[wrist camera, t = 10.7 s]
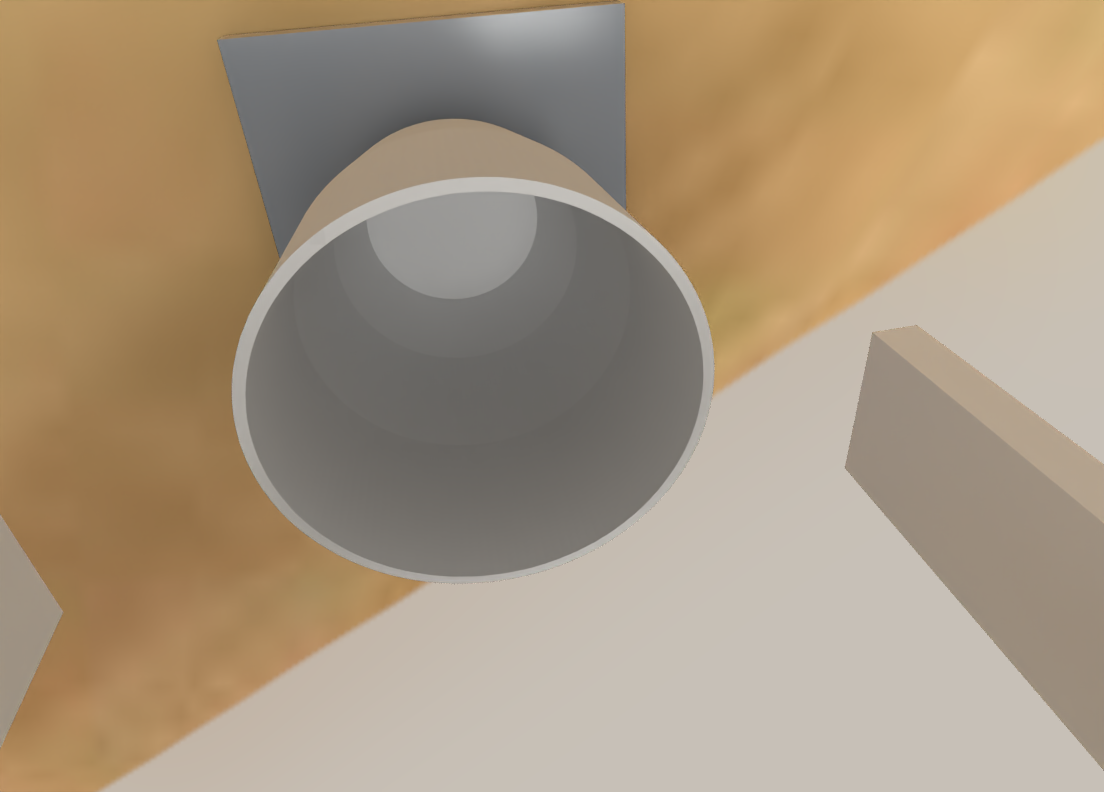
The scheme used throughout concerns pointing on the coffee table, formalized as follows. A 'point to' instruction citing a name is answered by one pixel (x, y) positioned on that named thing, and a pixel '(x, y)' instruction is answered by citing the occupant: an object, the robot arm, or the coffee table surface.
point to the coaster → (427, 92)
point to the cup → (470, 361)
